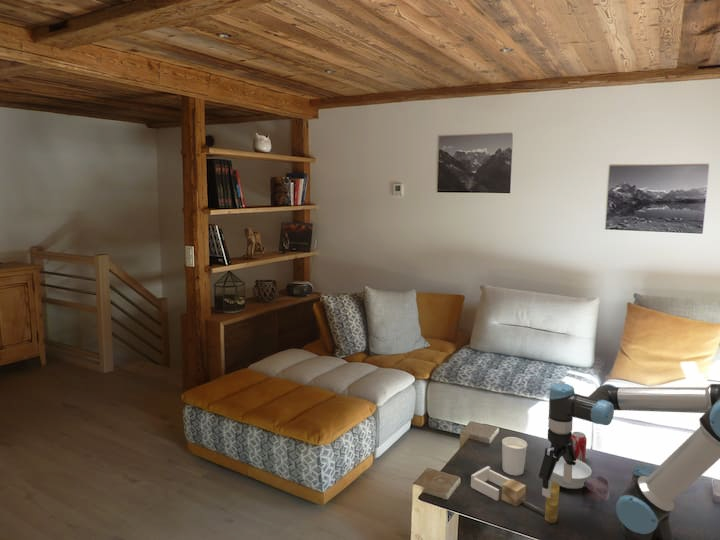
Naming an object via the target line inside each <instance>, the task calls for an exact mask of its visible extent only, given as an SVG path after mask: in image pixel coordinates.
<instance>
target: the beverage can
mask: <svg viewBox="0 0 720 540" xmlns="http://www.w3.org/2000/svg"><path fill="white" fill-rule="evenodd" d="M572 439H573V447H574V451H575V455H576V459H577V460H580V461H582V462H584V463H585V461H586V454H587V453H586V450H587V437H586V434H585V433H583V432H581V431H572Z"/></svg>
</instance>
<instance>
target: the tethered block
mask: <svg viewBox="0 0 720 540" xmlns="http://www.w3.org/2000/svg"><path fill="white" fill-rule="evenodd" d="M509 479H510V480H509V481H507V482H505V483H504V484H502V487H501V500H502V501H503V502H506V503H507V504H509V505H511V506H514V507H518V506H519V505H521V504H522V503H523V504H526V505H527V506H529V507H531V508H533V509H535V510H537V511H539V512H541V513H542V514H544V520H545V521H546V522H547V523H552V524H555V523H557V521H558V512H559V511H558V509H559V500H560V499H559V496H560V487H561V486H560V485H559V484H558V483H556V482H553V481H552V480H551V498H548V497H545V509H542V508H541V507H539V506H536V505H534V504H533V503H530V502H528V501H526V493H527V490H526V489H527V485H526V484H523V483H521V482H520V481H517V480H516V479H514V478H509Z"/></svg>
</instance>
